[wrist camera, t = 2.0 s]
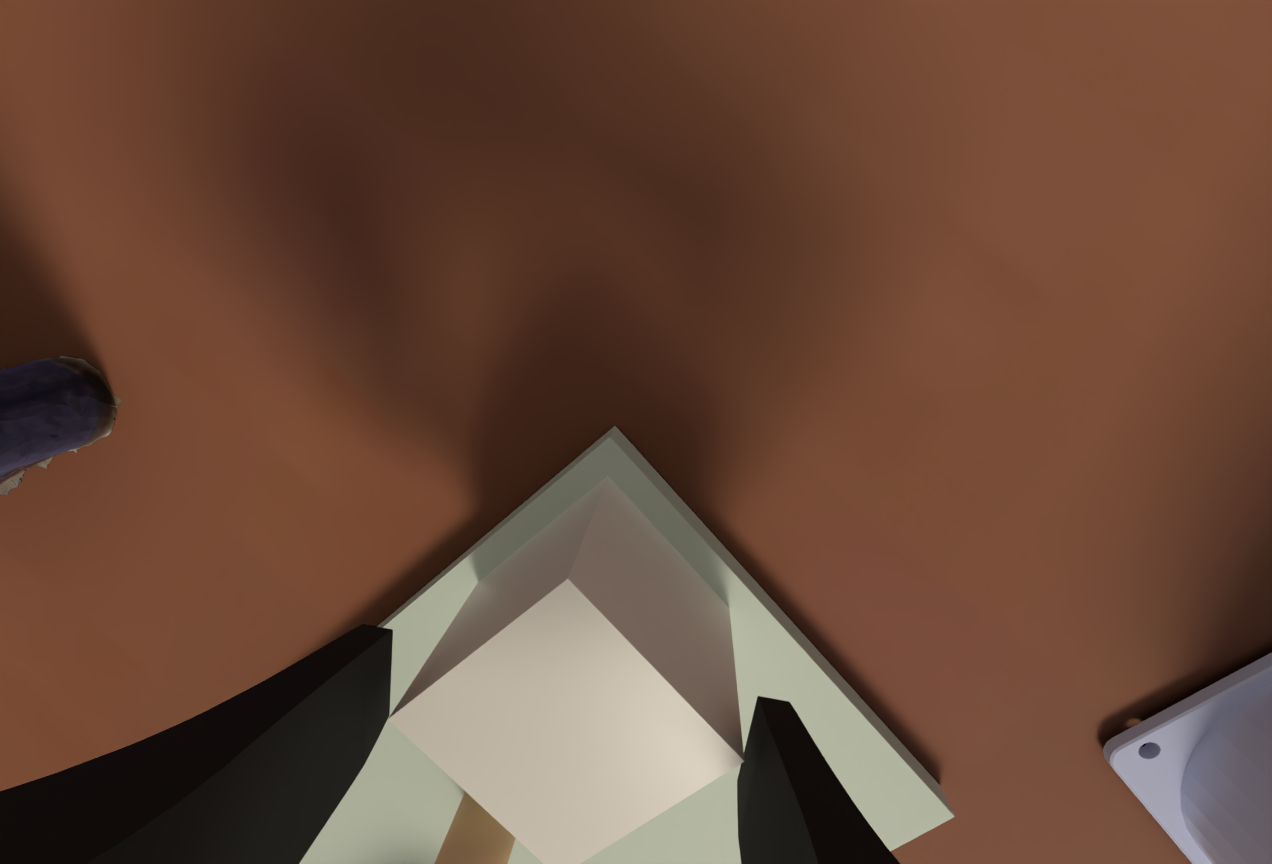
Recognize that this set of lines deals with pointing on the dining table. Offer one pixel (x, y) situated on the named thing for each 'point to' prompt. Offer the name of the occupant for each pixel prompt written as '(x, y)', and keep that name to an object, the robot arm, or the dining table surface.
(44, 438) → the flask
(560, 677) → the cream colored cube
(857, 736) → the board
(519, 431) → the dining table surface
